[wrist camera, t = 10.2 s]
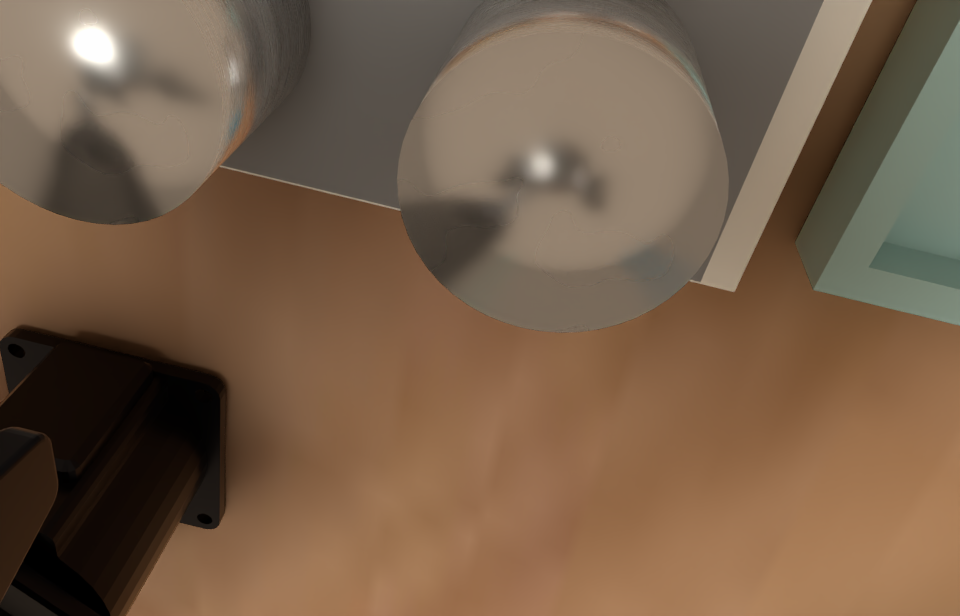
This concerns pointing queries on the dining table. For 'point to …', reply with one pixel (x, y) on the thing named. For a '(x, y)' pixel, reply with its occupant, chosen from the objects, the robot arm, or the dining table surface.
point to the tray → (898, 182)
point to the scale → (433, 31)
